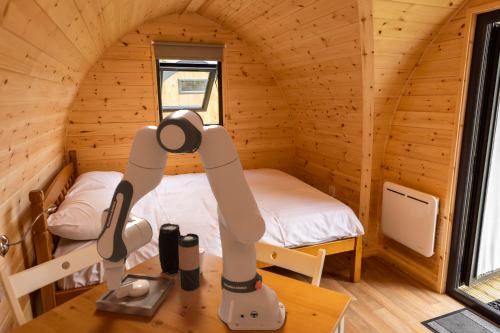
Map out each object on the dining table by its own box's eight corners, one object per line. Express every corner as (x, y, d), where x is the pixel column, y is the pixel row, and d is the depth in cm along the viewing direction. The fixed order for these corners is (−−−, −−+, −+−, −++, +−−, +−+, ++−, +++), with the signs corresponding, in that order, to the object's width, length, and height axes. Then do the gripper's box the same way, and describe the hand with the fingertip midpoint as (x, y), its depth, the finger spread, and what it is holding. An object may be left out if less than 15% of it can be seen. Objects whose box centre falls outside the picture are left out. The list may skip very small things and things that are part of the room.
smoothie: (203, 275, 137) (203, 243, 134) (188, 275, 137) (187, 243, 134) (206, 268, 143) (205, 237, 141) (191, 268, 143) (190, 237, 141)
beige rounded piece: (144, 282, 128) (144, 272, 127) (153, 291, 122) (152, 281, 121) (113, 292, 121) (112, 281, 120) (120, 303, 115) (119, 291, 114)
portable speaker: (160, 266, 144) (158, 223, 141) (182, 264, 146) (181, 221, 143) (159, 276, 136) (156, 230, 132) (182, 274, 138) (181, 229, 134)
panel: (175, 284, 131) (175, 276, 130) (151, 316, 111) (150, 307, 111) (127, 279, 134) (127, 271, 134) (96, 309, 115) (95, 300, 114)
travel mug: (196, 292, 125) (194, 242, 121) (176, 290, 127) (174, 240, 123) (203, 282, 132) (201, 234, 129) (184, 280, 134) (182, 232, 130)
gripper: (111, 239, 126) (113, 273, 129) (101, 266, 106) (104, 305, 109) (129, 237, 127) (130, 271, 130) (123, 264, 108) (125, 303, 111)
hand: (118, 287), depth 120 cm, fingers closed, pressing on beige rounded piece
